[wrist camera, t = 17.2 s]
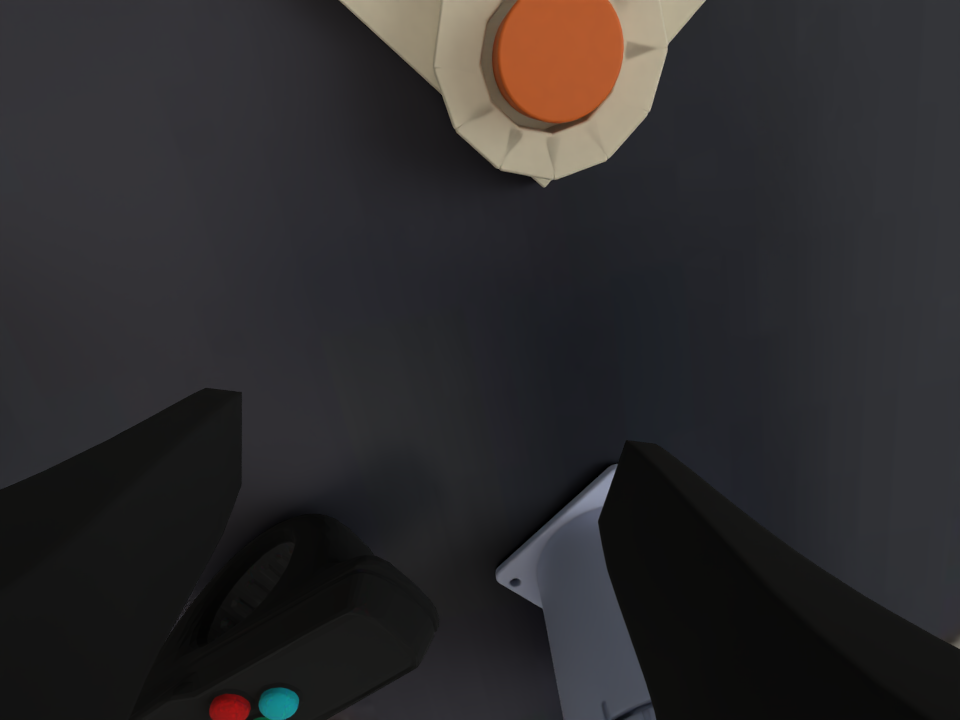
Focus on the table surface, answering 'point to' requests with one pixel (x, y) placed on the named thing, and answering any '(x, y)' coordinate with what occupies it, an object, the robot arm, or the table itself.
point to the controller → (290, 631)
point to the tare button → (558, 57)
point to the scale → (478, 101)
